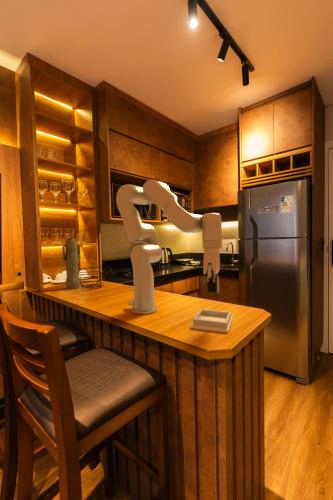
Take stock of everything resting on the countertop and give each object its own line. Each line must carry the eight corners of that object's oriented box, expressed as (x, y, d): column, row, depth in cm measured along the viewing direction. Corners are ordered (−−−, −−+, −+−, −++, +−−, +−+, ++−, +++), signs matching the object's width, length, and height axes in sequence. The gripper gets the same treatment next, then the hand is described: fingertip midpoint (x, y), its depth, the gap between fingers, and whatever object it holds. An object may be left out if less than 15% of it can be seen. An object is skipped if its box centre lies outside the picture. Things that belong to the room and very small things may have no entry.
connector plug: (203, 292, 95) (202, 277, 94) (205, 290, 98) (205, 276, 98) (217, 293, 93) (217, 278, 92) (219, 291, 96) (218, 276, 96)
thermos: (84, 287, 170) (82, 237, 168) (69, 290, 161) (66, 238, 158) (77, 285, 175) (74, 238, 173) (62, 288, 166) (59, 238, 163)
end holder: (190, 328, 91) (190, 320, 91) (200, 314, 106) (200, 308, 106) (227, 332, 86) (227, 324, 86) (233, 318, 101) (233, 311, 101)
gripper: (207, 244, 103) (208, 285, 104) (197, 246, 88) (198, 295, 89) (224, 243, 100) (225, 286, 102) (217, 245, 85) (219, 296, 86)
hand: (213, 290), depth 95 cm, fingers closed on connector plug, 4 cm apart
